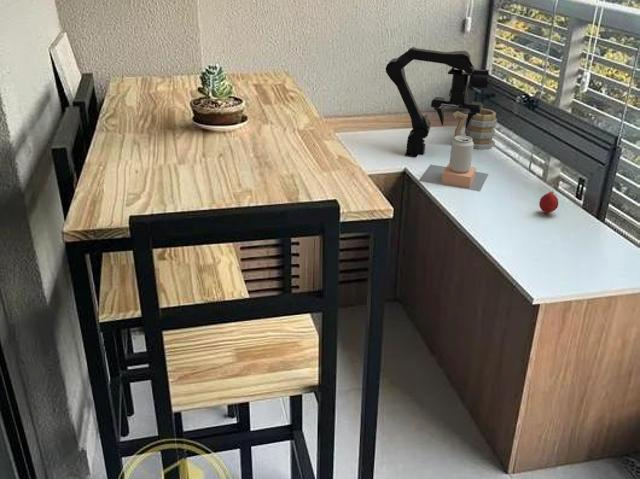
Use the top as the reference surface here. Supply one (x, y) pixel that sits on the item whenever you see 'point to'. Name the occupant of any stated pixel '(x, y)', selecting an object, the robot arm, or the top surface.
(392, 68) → the robot arm
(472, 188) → the baseplate
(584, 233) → the top surface
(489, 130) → the tankard
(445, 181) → the block
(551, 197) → the onion
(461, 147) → the can
